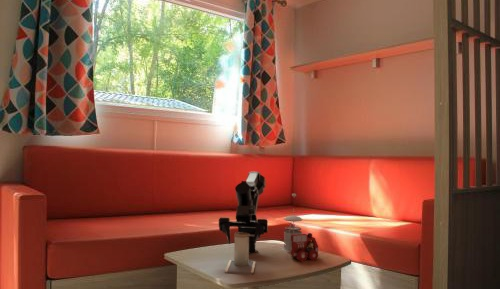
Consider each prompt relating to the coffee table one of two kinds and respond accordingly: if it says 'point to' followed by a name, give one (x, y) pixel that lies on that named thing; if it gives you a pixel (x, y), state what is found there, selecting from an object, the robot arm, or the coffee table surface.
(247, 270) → the mat
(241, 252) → the canister
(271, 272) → the coffee table surface
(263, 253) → the coffee table surface
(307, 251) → the toy fire truck
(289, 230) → the french press
